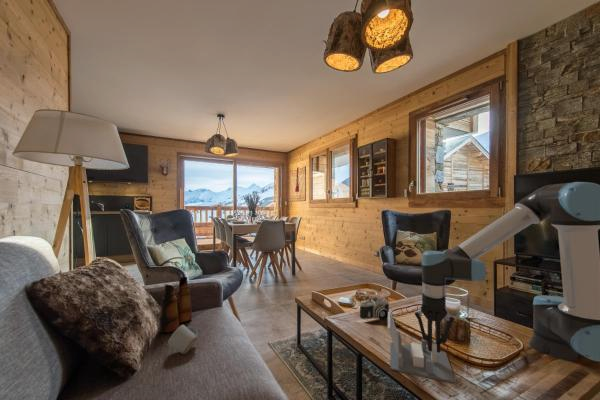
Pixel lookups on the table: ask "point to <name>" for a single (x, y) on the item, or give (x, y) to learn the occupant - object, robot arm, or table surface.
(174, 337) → the ceramic mug
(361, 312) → the camera
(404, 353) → the grey open box
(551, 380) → the table surface
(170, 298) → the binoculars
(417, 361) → the pale wooden block
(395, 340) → the cover
